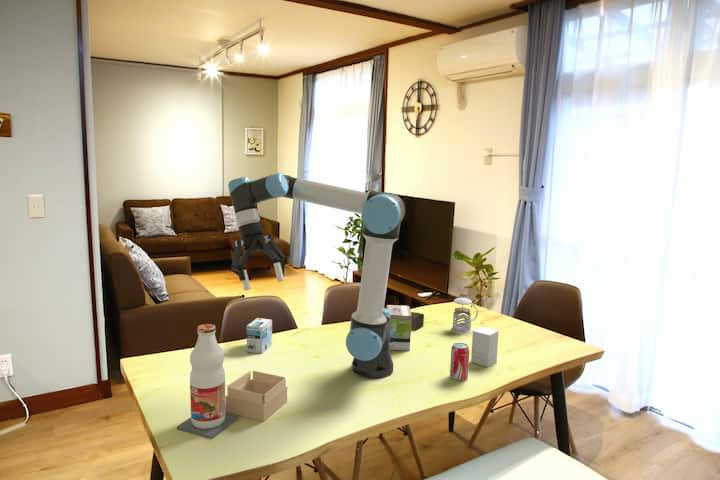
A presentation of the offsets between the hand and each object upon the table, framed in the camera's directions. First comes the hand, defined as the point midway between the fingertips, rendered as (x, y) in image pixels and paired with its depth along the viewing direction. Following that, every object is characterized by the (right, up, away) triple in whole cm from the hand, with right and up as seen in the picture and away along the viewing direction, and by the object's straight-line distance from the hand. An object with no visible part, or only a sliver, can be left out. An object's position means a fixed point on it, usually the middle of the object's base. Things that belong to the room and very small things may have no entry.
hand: (265, 285), depth 167 cm
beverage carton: (+51, -25, +67) cm, 88 cm away
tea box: (+47, -28, +42) cm, 69 cm away
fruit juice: (-11, -36, -25) cm, 45 cm away
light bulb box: (-8, -28, +33) cm, 44 cm away
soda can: (+67, -34, +10) cm, 75 cm away
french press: (+78, -26, +60) cm, 102 cm away
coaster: (-11, -37, -25) cm, 46 cm away
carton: (0, -36, -14) cm, 38 cm away
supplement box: (+79, -32, +25) cm, 89 cm away
